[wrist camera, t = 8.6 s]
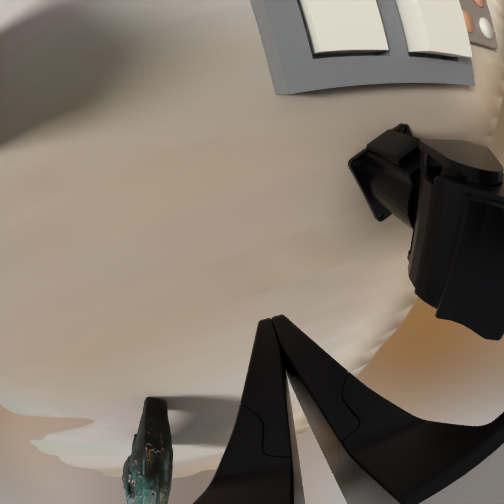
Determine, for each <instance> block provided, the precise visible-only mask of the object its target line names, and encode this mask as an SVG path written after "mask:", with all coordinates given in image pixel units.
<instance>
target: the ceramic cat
mask: <svg viewBox="0 0 504 504" xmlns="http://www.w3.org/2000/svg"><path fill="white" fill-rule="evenodd" d="M171 441H172V440H171V432H170V425H169V421H168V410H167V402H166V401H164V400H158V399H153V398H148V397H147V398H146V400H145V402H144V407H143V413H142V417H141V420H140V424H139V428H138V433H137V434H135V435H134V440H133V443H132V454H131V455H130V456H129V457H128V459H127V460H126V462H125V463H124V467H123V476H122V480H123V485H124V490H125V494H126V498H127V504H167V503H168V498H169V494H170V489H171V479H172V469H173V463H172V462H173V449H172V444H171Z"/></svg>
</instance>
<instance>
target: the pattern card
mask: <svg viewBox="0 0 504 504" xmlns="http://www.w3.org/2000/svg"><path fill="white" fill-rule="evenodd" d="M459 2H460V6H461V9H462V12H463V16H464V20H465V24H466V28H467V32H468V37H469V41H470V42H471V43H474V44H478V45H482V46H485V47H488V48H492V49H498V46H497V41H496V36H495V32H494V28H493V23H492V20H491V16H490V12H489V9H488V5H487V2H486V0H459Z"/></svg>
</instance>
